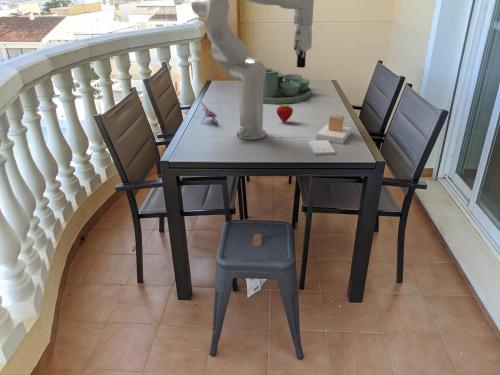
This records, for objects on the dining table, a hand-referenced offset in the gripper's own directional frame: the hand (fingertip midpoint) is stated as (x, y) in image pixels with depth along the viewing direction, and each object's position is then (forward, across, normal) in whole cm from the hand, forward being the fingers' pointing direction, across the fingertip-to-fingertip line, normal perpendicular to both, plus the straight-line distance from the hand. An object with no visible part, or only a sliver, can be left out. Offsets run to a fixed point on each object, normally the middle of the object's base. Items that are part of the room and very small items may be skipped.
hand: (300, 67), depth 174 cm
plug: (+25, -8, -20) cm, 33 cm away
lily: (+25, -18, +37) cm, 48 cm away
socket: (+25, -10, -20) cm, 34 cm away
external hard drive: (+26, -25, -20) cm, 41 cm away
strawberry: (+25, -2, +6) cm, 26 cm away
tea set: (+26, +42, +30) cm, 57 cm away
